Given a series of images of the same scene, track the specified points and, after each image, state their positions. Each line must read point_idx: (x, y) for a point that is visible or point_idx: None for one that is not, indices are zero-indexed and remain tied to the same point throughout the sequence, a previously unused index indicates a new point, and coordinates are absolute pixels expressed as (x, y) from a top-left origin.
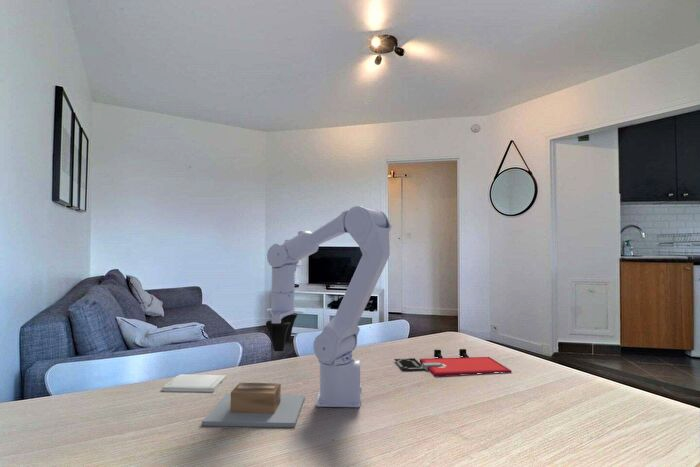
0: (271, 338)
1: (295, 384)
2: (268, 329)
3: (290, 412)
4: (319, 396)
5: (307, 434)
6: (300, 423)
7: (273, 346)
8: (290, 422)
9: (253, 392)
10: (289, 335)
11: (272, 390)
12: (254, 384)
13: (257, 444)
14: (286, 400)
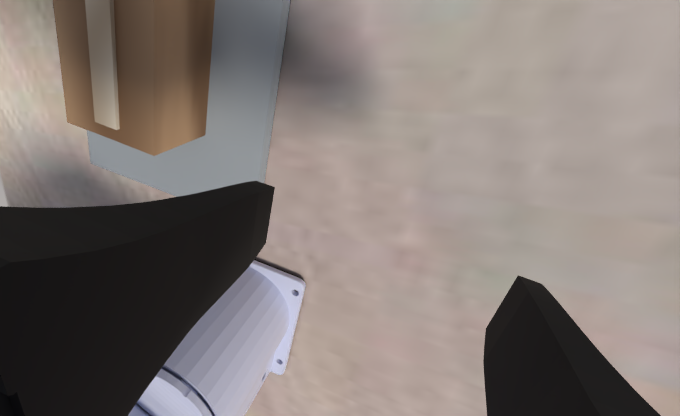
0: (166, 199)
1: (398, 216)
2: (5, 210)
3: (142, 159)
4: (249, 266)
5: (78, 183)
6: (120, 176)
7: (227, 187)
8: (91, 151)
9: (60, 27)
10: (491, 382)
11: (89, 115)
12: (135, 26)
13: (18, 51)
14: (218, 158)
